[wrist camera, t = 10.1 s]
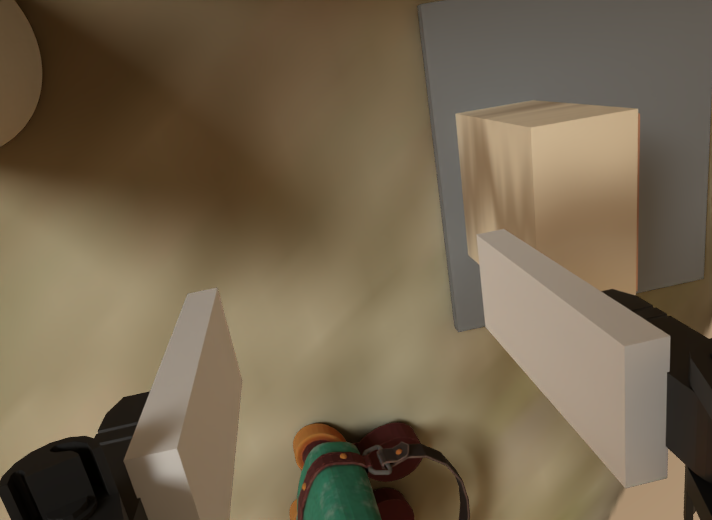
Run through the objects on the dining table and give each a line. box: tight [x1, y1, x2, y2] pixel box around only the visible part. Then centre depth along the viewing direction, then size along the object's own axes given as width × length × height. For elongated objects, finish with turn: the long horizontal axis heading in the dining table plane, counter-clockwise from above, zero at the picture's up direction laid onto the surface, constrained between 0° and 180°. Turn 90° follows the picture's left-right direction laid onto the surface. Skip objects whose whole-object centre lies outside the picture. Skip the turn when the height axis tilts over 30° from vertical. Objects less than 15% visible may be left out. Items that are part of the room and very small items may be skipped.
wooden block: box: [455, 100, 640, 295], centre depth 24 cm, size 7×4×8 cm, turn 8°
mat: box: [417, 0, 712, 332], centre depth 28 cm, size 16×14×1 cm
